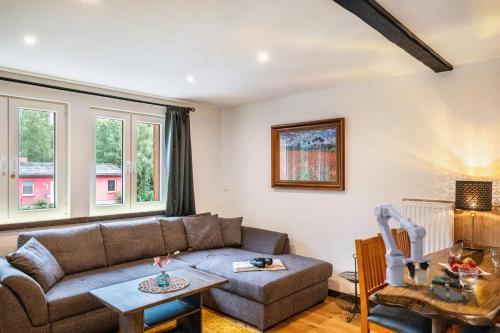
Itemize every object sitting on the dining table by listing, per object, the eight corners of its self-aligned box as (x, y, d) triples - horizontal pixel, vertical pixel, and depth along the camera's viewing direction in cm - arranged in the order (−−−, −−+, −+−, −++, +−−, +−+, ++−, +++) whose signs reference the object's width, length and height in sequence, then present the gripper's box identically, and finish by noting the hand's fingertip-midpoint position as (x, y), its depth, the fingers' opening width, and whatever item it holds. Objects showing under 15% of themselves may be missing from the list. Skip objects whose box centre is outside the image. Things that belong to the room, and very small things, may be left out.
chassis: (426, 290, 177) (426, 283, 177) (447, 289, 179) (447, 282, 179) (447, 302, 161) (447, 295, 161) (470, 301, 163) (470, 293, 163)
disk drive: (465, 285, 186) (435, 279, 195) (465, 280, 186) (435, 275, 195) (463, 291, 178) (431, 284, 187) (463, 285, 178) (431, 279, 187)
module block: (408, 278, 177) (408, 266, 177) (417, 277, 177) (417, 266, 177) (417, 283, 169) (417, 271, 169) (426, 283, 169) (426, 271, 169)
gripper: (408, 252, 168) (408, 280, 168) (435, 251, 170) (435, 279, 170) (400, 249, 175) (400, 275, 175) (426, 248, 177) (426, 274, 177)
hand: (417, 277), depth 173 cm, fingers closed on module block, 5 cm apart
